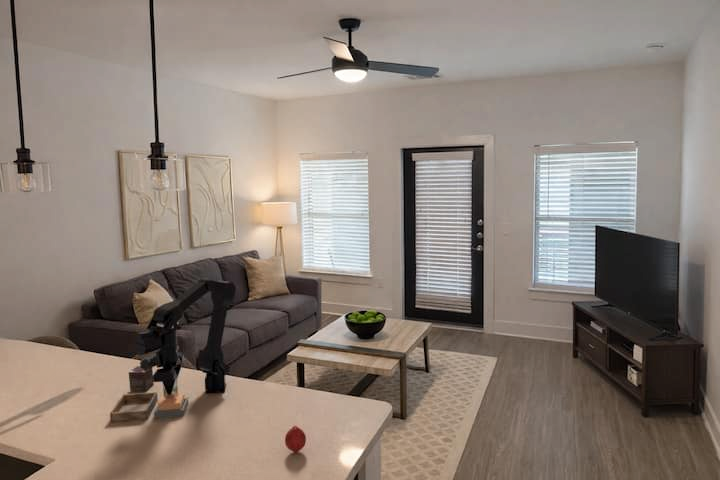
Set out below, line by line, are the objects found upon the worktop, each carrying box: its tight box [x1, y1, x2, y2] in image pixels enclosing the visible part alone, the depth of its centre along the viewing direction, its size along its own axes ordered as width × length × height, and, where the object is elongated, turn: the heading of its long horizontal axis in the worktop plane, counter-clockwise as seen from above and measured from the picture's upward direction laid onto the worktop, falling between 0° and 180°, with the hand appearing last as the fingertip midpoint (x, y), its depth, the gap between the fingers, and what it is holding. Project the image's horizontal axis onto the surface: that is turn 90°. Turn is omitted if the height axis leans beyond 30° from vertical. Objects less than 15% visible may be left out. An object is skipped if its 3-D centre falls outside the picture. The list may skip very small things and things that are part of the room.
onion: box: [284, 425, 307, 454], centre depth 142 cm, size 6×6×8 cm
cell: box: [162, 377, 179, 399], centre depth 167 cm, size 4×4×8 cm
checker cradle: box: [153, 397, 189, 419], centre depth 168 cm, size 9×9×2 cm
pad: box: [157, 393, 186, 411], centre depth 168 cm, size 7×7×2 cm
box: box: [128, 365, 155, 393], centre depth 186 cm, size 6×6×7 cm
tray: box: [109, 391, 158, 423], centre depth 168 cm, size 11×14×3 cm
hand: (170, 391), depth 167 cm, fingers closed on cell, 4 cm apart
